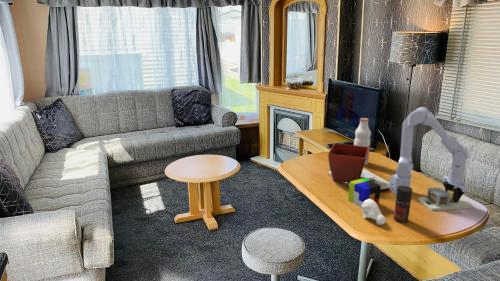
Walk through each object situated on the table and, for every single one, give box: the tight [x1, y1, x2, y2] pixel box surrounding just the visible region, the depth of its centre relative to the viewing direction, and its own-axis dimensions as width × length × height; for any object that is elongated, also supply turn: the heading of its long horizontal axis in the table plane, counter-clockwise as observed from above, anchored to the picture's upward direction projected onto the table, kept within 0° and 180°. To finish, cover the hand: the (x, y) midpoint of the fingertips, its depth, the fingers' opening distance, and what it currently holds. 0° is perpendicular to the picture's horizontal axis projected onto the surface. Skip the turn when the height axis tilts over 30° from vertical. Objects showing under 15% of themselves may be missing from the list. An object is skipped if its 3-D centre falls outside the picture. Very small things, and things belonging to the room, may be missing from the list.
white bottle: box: [353, 117, 372, 166], centre depth 224 cm, size 9×9×28 cm
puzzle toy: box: [347, 177, 382, 209], centre depth 177 cm, size 10×10×10 cm
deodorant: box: [393, 186, 413, 224], centre depth 161 cm, size 6×6×15 cm
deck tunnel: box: [417, 186, 474, 212], centre depth 176 cm, size 21×11×7 cm, turn 99°
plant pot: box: [328, 143, 370, 184], centre depth 203 cm, size 19×19×17 cm
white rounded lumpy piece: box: [361, 199, 387, 226], centre depth 161 cm, size 6×8×12 cm
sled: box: [429, 190, 454, 204], centre depth 176 cm, size 12×4×5 cm, turn 99°
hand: (452, 199), depth 177 cm, fingers open, 5 cm apart
